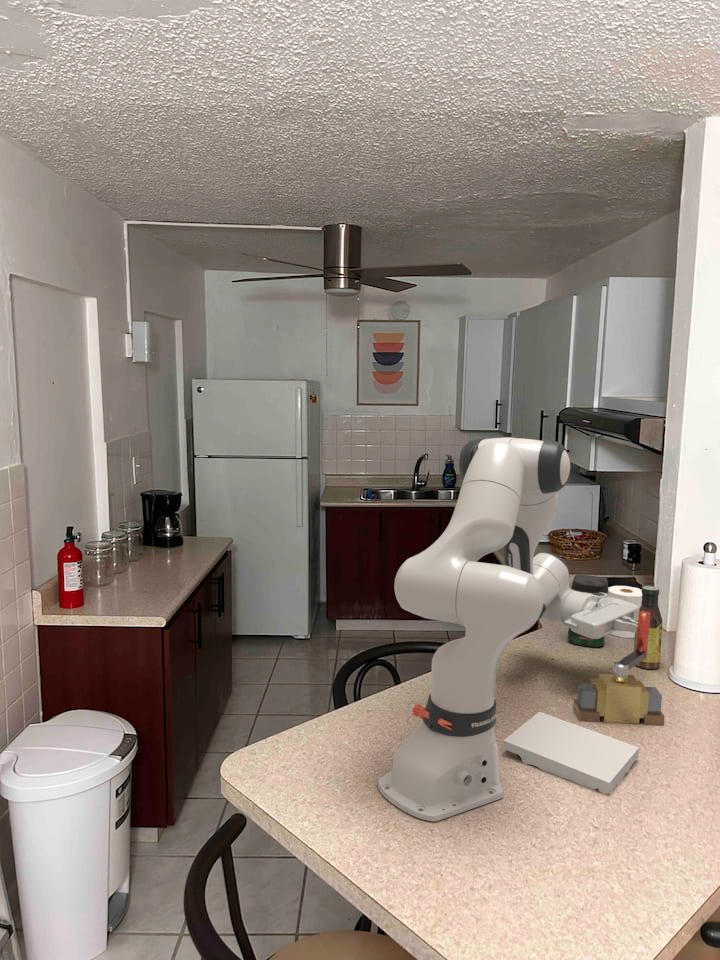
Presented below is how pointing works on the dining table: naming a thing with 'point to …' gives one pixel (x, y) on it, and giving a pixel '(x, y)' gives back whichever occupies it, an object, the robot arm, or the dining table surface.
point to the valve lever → (639, 654)
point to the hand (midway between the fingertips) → (639, 628)
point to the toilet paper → (630, 596)
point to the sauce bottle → (651, 627)
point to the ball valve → (618, 701)
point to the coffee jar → (588, 586)
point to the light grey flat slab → (572, 752)
